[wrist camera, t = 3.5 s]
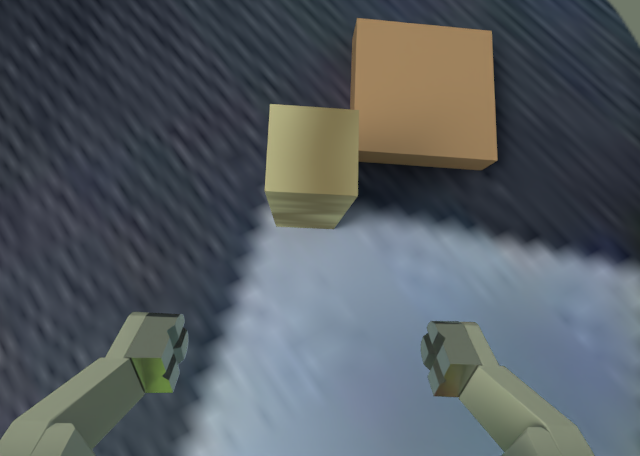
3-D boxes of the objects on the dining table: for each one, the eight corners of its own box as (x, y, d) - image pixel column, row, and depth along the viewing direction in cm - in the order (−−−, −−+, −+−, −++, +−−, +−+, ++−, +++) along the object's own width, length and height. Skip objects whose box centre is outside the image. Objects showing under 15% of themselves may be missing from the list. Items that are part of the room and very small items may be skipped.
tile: (347, 163, 25) (352, 150, 22) (351, 42, 26) (357, 18, 24) (477, 172, 25) (497, 160, 23) (473, 54, 27) (491, 31, 25)
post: (276, 226, 23) (264, 191, 14) (279, 171, 24) (270, 104, 15) (333, 229, 23) (357, 195, 14) (335, 174, 24) (359, 109, 15)
